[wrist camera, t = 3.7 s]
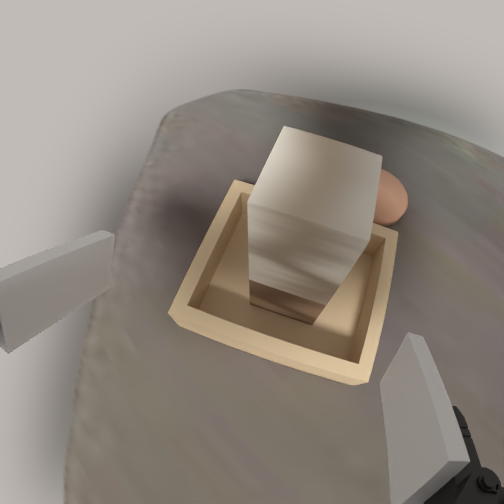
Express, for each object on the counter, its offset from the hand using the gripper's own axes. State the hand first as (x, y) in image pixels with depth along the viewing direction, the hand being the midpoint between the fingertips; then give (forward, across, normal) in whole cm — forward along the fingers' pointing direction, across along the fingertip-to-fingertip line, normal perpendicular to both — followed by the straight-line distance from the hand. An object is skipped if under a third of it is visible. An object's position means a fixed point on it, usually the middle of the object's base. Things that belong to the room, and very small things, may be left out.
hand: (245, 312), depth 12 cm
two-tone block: (+12, +1, -3) cm, 13 cm away
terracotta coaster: (+20, +7, +5) cm, 22 cm away
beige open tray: (+12, +1, -4) cm, 13 cm away
